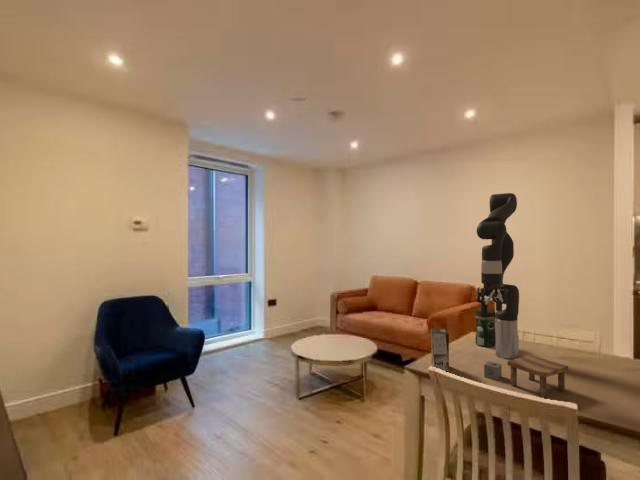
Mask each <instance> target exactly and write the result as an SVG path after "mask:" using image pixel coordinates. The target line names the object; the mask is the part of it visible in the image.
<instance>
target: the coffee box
mask: <svg viewBox="0 0 640 480" xmlns="http://www.w3.org/2000/svg"><path fill="white" fill-rule="evenodd" d="M449 337H450V333H449V332H448V330H447V329H446V328H444V327H442V328H440V327H438V328H437V327H436V328H435V327H434V328H433V327H432V328H430V338H431V339H430V342H431V348H430V349H431V351H430V352H431V366H433V367H436V368H440V369H442V370H445V371H448V372H447V373H449V372H450V339H449ZM433 367H432V368H433Z"/></svg>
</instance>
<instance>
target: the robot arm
mask: <svg viewBox="0 0 640 480" xmlns="http://www.w3.org/2000/svg"><path fill="white" fill-rule="evenodd" d="M517 206H518V199H517V195H516V194H515V193H513V192H512V193H511V192H507V193H496V194H495V193H494V194H491V195H490V197H489V214H488V216H487V217H486V218H485V219H482V220H481V221H480V222H479V223H478V225H477V227H476V234H477V236H478V238H479V239H481V240H491V244H489V245H484V246H483V247H482V249H481V265H480V267H481V268H480V269H481V270H480V271H481V273H480V275H481V279H480V281H481V284H483V287H479V286H478V287H477V290H476V302H477V303H479V304H480V309H481V312H482V313H483V314H487V313H488V308H489V307H488V304H489V301H491V300H492V301H493V302H494V303H495V310H496V311H495V345H494V346H495V356H498V357H499V358H502V359H508V360H510V359H511V360H513V359H517V358H519V355H520V352H519V351H520V347H519V346H520V344H519V342H520V341H519V337H520V336H519V335H518V333H519V332H518V331H519V329H518V327H519V325H518V316H519V309H520V307H519V306H520V305H519V304H520V289H519V288H518V286H516V285H514V284H506V283H503V282H504V280H503V279H504V274H505V273H506V270H507V268H508V267H509V266H510V264H511V262H512V261H513V258H514V255H515V250H514V246H515V245H514V244H515V243H514V240H513V239H512V237H511V235H510V234H509V233H508V231H507V225H506V222H507V220H508V219H509V218H510V217H511V216H512V215H513V214H515V212H516V210H517ZM503 305H506V306H505V309H503Z"/></svg>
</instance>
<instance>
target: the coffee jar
mask: <svg viewBox="0 0 640 480" xmlns="http://www.w3.org/2000/svg"><path fill="white" fill-rule="evenodd" d="M474 312H475V313H474V314H475V315H474V318H475V321H476V324H475V325H476V327H475V329H476V330H475V344H476V345H478V346H480V347H484V348H485V347H486V348H487V347H493V346H495V313H496V311H495V309H494V308H490V307H488V313H487V314H483V313H482V312H481V308H479V309H476V310H475V311H474Z"/></svg>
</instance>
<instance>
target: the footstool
mask: <svg viewBox="0 0 640 480" xmlns="http://www.w3.org/2000/svg"><path fill="white" fill-rule="evenodd" d="M506 363H507V366H509V367H510V386H511V387H517V385H518V383H517V382H518V380H517V379H518V377H517V376H518V374H517V372H518V371H517V370H521V371H523V372H527V373H528V380H529V381H535V380H536V376H538V377H539V397H540V398H541V397H544V398H543V399H547V378H549V377H552V376H555V375H557V390H558V391H559V392H565V390H566V384H565V383H566V379H565V377H566V375H565V373H566V371H569V365H566V364H561V363H558V362H555V361H552V360H549V359H545V358H541V357H538V356H535V355H532V354H528V355H525V356H520V357H517V358H514V359H511V360H510V359H509V360H507V362H506Z"/></svg>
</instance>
